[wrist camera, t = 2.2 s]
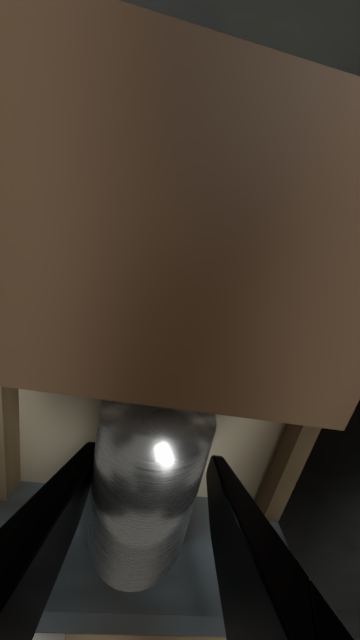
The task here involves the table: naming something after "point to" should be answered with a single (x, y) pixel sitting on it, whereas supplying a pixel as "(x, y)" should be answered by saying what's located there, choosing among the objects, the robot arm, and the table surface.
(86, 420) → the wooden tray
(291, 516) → the table surface
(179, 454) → the roller
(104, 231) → the slab
